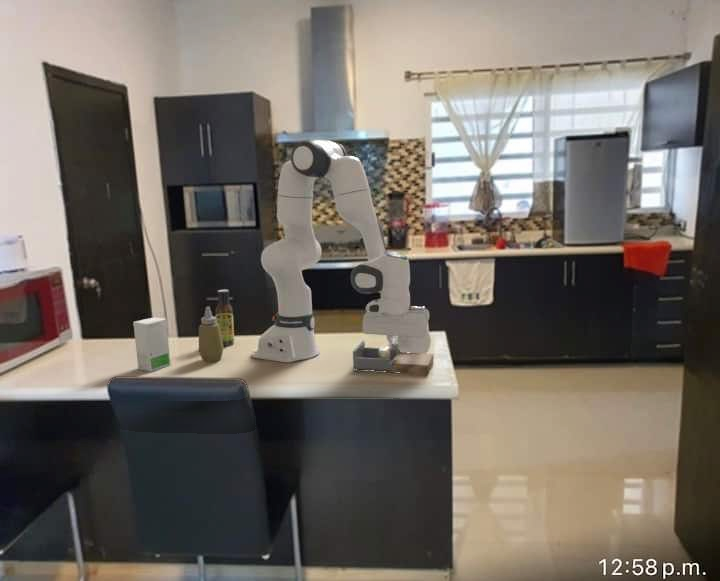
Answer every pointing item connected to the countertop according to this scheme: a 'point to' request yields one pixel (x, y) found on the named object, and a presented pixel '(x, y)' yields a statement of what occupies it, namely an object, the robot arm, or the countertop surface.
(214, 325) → the squeeze bottle
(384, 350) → the tile
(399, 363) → the bench plate
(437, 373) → the countertop surface
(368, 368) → the box
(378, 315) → the robot arm
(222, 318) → the sauce bottle
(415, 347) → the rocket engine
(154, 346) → the skincare box
